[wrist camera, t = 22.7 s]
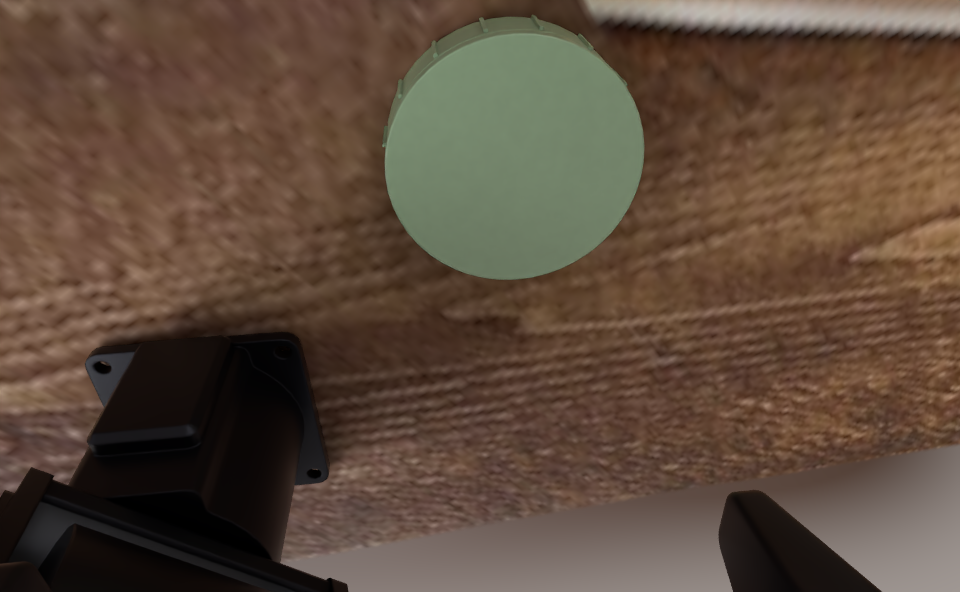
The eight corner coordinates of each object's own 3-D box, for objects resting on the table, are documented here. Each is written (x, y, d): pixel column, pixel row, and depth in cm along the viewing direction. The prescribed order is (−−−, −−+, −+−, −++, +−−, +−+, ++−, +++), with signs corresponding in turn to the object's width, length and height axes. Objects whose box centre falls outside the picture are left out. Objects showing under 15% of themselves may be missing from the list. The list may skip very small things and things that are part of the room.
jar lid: (397, 254, 20) (396, 289, 19) (372, 20, 17) (368, 39, 15) (615, 240, 21) (632, 273, 19) (637, 9, 17) (660, 25, 15)
